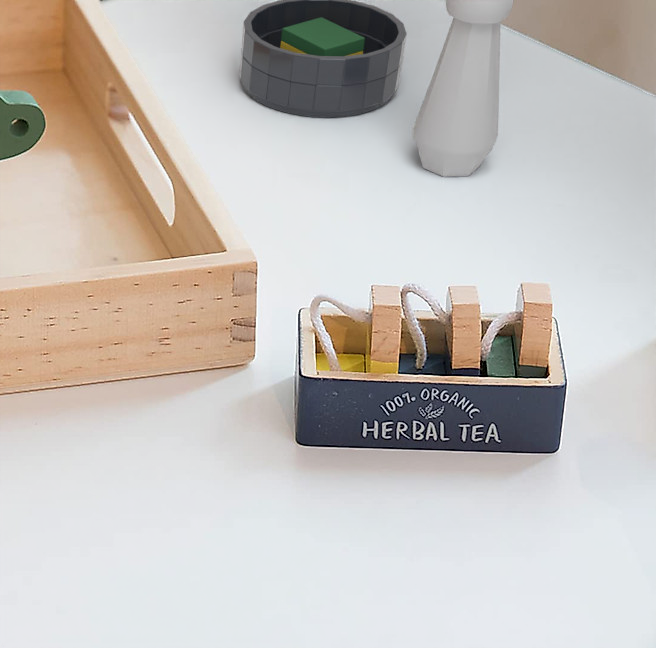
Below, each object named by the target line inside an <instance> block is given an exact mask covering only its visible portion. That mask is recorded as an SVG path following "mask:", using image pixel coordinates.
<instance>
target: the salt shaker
mask: <svg viewBox="0 0 656 648" xmlns="http://www.w3.org/2000/svg"><path fill="white" fill-rule="evenodd" d="M514 1H515V0H445V8H446V12H447V13H448V16H450V17H452V20H451V23H450V26H449V30H448V32H447V34H446V38H445V40H444V43H443V46H442V49H441V52H440V54H439V57H438V59H437V63H436V66H435V68H434V71H433V75H432V77H431V80H430V83H429V85H428V88H427V90H426V94H425V95H424V98H423V101H422V104H421V105H420V106H421V107H420V109H419V112H418V115H417V117H416V120H415V122H414V125H413V127H412V137H413V139H414V143H415V145H416V147H417V150H418V154H419V158H420V162H421V167H422V168H423V169H425V170H427V171H429V172H432V173H434V174H436V175H438V176H441V177H445V178H446V177H470V176H471V175H472V174H473V173H474V172H475V171H476V170H478V168H480V166H481V165H482V163H483V162H484V160H485V159H486V157H488V155H489V153H490V152H491V151H492V150H493V148H494V146H495V145H496V144H495V143H496V141H497V139H498V136H499V111H500V110H499V108H500V106H499V105H500V104H499V103H500V62H501V61H500V60H501V58H500V57H501V23H502V22H503V21H505V20H507V19H508V17H509V15H510V13H511V11H512V9H513V5H514Z"/></svg>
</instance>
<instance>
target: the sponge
mask: <svg viewBox="0 0 656 648" xmlns="http://www.w3.org/2000/svg"><path fill="white" fill-rule="evenodd" d="M364 41H365V38H364V37H362V36H360V35H357V34H355V33H353V32H351V31H349V30H347V29H345V28H343V27H341V26H339V25H337V24H335V23H332V22H330V21H328V20H326V19H324V18H322V17H321V18H317V19H313V20H310V21H306V22H303V23H299V24H296V25H292V26H288V27H285V28H282V37H281V46H280V48H281V49H285V50H288V51H292V52H295V53H302V54H309V55H316V56H351V55H360V54H363V49H364Z"/></svg>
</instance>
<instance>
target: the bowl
mask: <svg viewBox="0 0 656 648" xmlns="http://www.w3.org/2000/svg"><path fill="white" fill-rule="evenodd" d="M321 17H322V18H324V19H326V20H328V21H330V22H332V23H335V24H337V25H339V26H341V27H343V28H345V29H347V30H349V31H351V32H353V33H355V34H357V35H360V36H362V37H364V38H365V41H364V49H363V54H360V55H351V56H316V55H309V54H302V53H295V52H292V51H288V50H285V49H281V48H280V46H281V37H282V28H285V27H288V26H292V25H296V24H299V23H303V22H306V21H310V20H313V19H317V18H321ZM241 35H242V36H241V48H240V60H239V79H240V82H241V84H242V86H243V88H244V90H245V92H246V93H247V94H248V95H249V97H250V98H252V99H253V100H254V101H256V102H258V103H260V104H262V105H264V106H266V107H268V108H270V109H273V110H276V111H280V112H283V113H287V114H292V115H296V116H303V117H312V118H343V117H351V116H358V115H362V114H365V113H369V112H372V111H375V110H377V109H379V108H381V107H383V106H384V105H385V104H387V103H388V102H389V101H390V100H391V98H392V96H394V95H395V94H396V92H397V89H398V88H399V85H400V82H401V75H402V68H403V60H404V56H405V55H404V54H405V48H406V41H407V35H408V33H407V30H406V27H405V24H404V22H403V21H401V20H400V19H399V18H397V17H396V16H395V15H394V14H393V13H391V12H390V11H389V12H388V11H387V10H385V9H382V8H380V7H378V6H375V5H372V4H368V3H366V2H365V3H364V2H361V1H357V0H276V1H272V2H268V3H265V4H262V5H260V6H258V7H257V8H255V9H253V10H250V12H249V13H248V14H247V16H246V17H245V18H244V20H243V25H242V34H241Z"/></svg>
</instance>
